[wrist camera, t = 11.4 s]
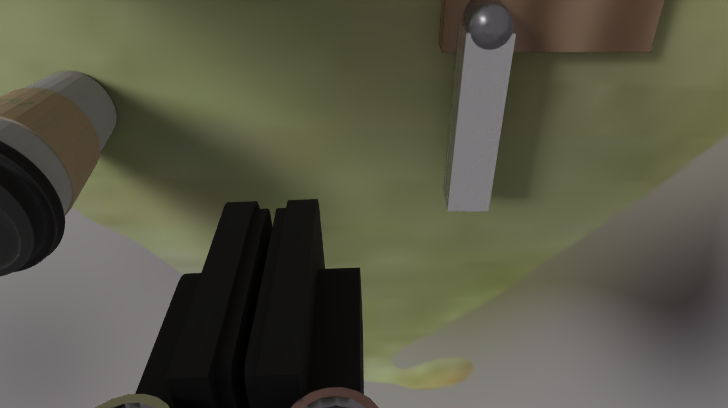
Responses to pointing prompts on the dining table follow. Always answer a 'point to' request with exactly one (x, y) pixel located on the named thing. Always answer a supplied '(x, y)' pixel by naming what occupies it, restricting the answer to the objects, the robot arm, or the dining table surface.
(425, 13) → the dining table surface
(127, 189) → the dining table surface
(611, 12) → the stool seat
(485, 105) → the folding leg
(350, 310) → the robot arm
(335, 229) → the dining table surface
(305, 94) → the dining table surface
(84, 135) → the coffee cup
